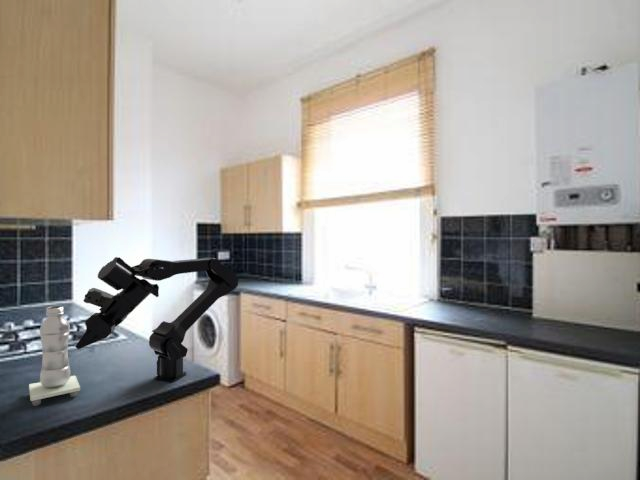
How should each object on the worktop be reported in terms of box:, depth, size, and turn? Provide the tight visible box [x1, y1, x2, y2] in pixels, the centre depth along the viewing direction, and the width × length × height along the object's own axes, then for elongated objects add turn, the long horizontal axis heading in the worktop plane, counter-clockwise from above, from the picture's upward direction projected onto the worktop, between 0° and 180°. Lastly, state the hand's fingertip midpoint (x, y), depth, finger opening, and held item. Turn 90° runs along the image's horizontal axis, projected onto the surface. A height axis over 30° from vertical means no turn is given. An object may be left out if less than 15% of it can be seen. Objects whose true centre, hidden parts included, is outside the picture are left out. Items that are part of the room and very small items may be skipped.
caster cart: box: [28, 375, 81, 407], centre depth 96 cm, size 10×10×2 cm
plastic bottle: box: [39, 305, 72, 387], centre depth 96 cm, size 6×7×20 cm
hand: (83, 342), depth 98 cm, fingers open, 9 cm apart
